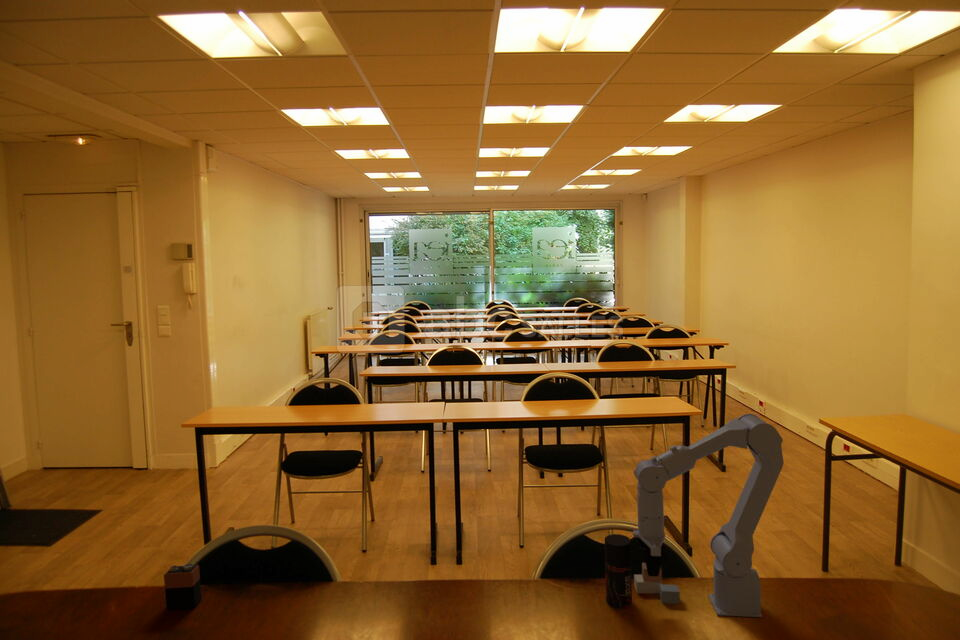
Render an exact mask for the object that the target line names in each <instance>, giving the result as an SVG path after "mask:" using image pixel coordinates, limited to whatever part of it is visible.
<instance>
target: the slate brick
mask: <svg viewBox="0 0 960 640" xmlns="http://www.w3.org/2000/svg"><path fill="white" fill-rule="evenodd" d="M680 596H681V595H680V589H679V587H678V584H663V583H662V584H660V593H659V599H660V601H661V604H674V605H675V604H676V605H678V604H679V605H680V604H681V603H680V602H681V601H680V599H681V598H680Z"/></svg>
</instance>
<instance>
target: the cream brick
mask: <svg viewBox="0 0 960 640" xmlns="http://www.w3.org/2000/svg"><path fill="white" fill-rule="evenodd" d="M660 584H663V582H662V583H656V582H644V581H643V577H642V574H633V586H634V588H635V591H636V594H660Z"/></svg>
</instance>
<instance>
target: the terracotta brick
mask: <svg viewBox="0 0 960 640" xmlns="http://www.w3.org/2000/svg"><path fill="white" fill-rule="evenodd" d="M662 572H663V569H662V565H661V566H660V571H659V575H658V576H649V575H648V572H647V567H646V563H645V562H641V575H642V577H643V581H644V582H656V583H662V584H663V576H662V574H663V573H662Z"/></svg>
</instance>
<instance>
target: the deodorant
mask: <svg viewBox="0 0 960 640" xmlns="http://www.w3.org/2000/svg"><path fill="white" fill-rule="evenodd" d="M631 542H632V541H631V538H630V537H628V536H627V535H624V534H621V533H615V534H614V533H612V534H608V535H605V538H604V563H605V567H604V568H605V571H604V572H605V602H606V604H607V605H608V606H609V607H611V608H613V609H617V610H626V609H628V608H630V607H632V605H633V594H632V593H633V587H632V586H633V584H632V583H633V582H632V581H633V580H632V543H631Z"/></svg>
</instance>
